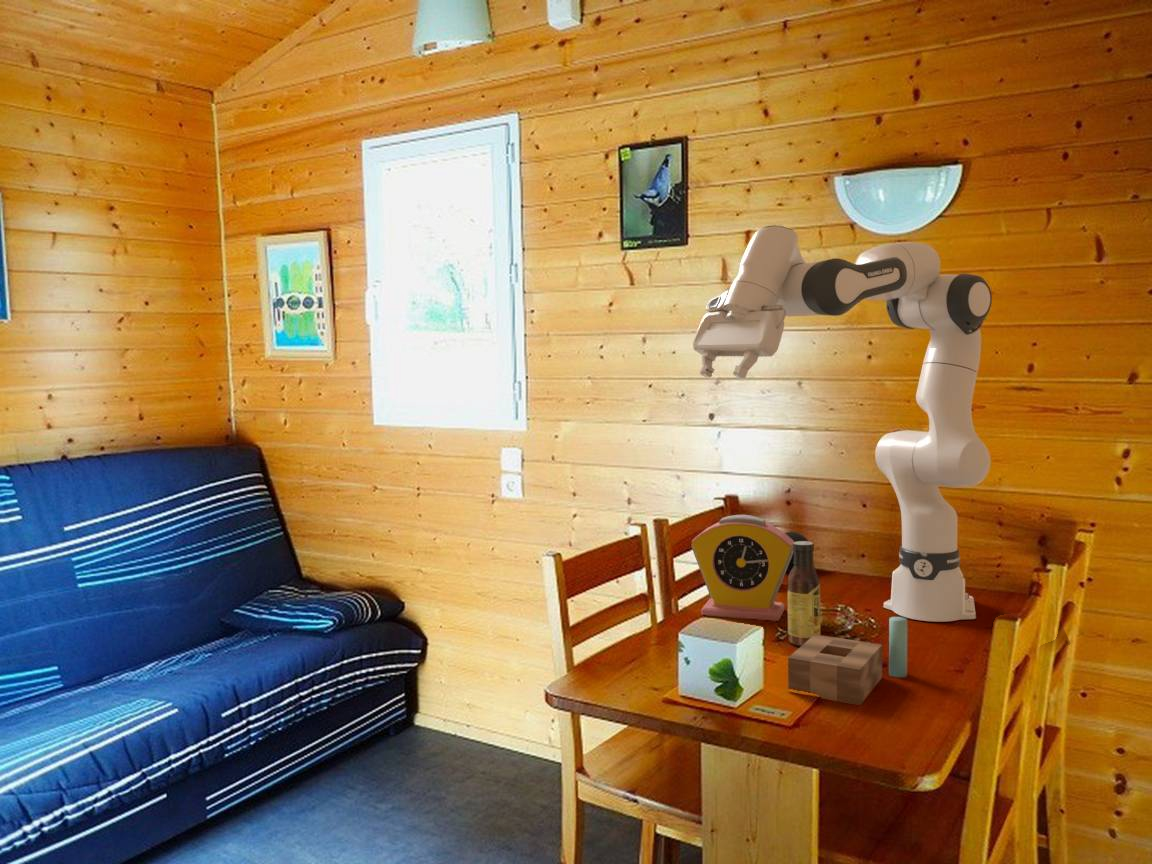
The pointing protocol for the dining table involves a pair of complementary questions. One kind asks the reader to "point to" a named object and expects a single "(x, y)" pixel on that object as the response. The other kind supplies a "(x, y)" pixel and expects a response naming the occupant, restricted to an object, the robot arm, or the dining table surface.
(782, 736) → the dining table surface
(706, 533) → the yellow mantel clock
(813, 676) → the hole block
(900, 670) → the peg
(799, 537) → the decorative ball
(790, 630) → the sauce bottle
